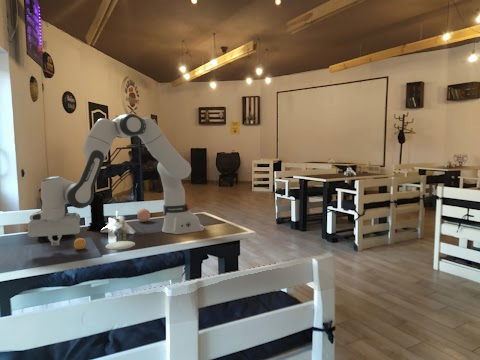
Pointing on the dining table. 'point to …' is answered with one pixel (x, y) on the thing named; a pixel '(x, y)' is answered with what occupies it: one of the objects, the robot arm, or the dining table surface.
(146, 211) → the toy ball
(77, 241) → the ball
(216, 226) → the dining table surface
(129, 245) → the cream disc
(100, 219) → the chess piece
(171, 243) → the dining table surface
